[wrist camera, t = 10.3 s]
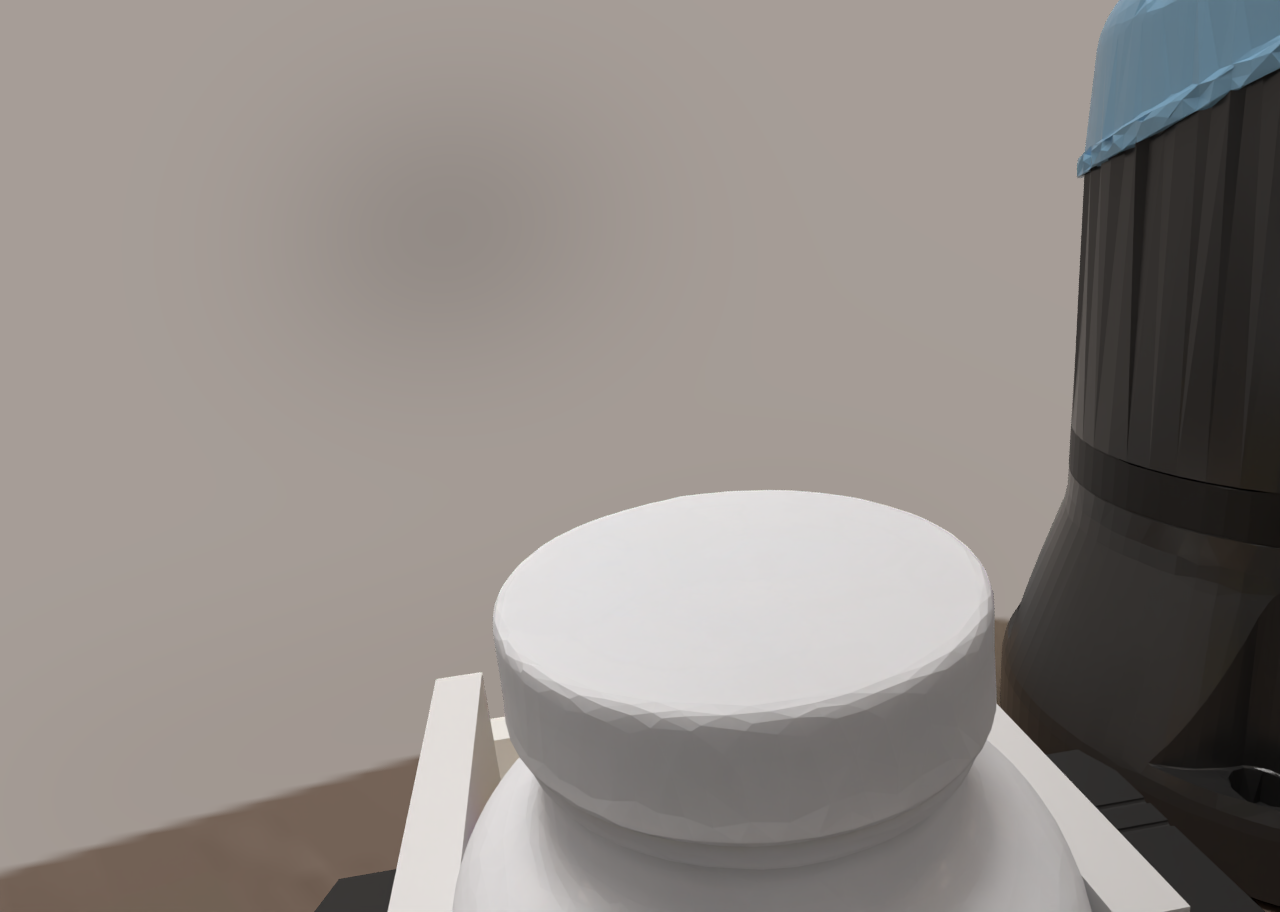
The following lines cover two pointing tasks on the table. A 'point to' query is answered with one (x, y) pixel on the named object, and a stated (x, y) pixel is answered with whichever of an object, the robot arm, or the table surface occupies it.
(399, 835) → the table surface
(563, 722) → the supplement bottle
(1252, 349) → the robot arm
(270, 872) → the table surface
